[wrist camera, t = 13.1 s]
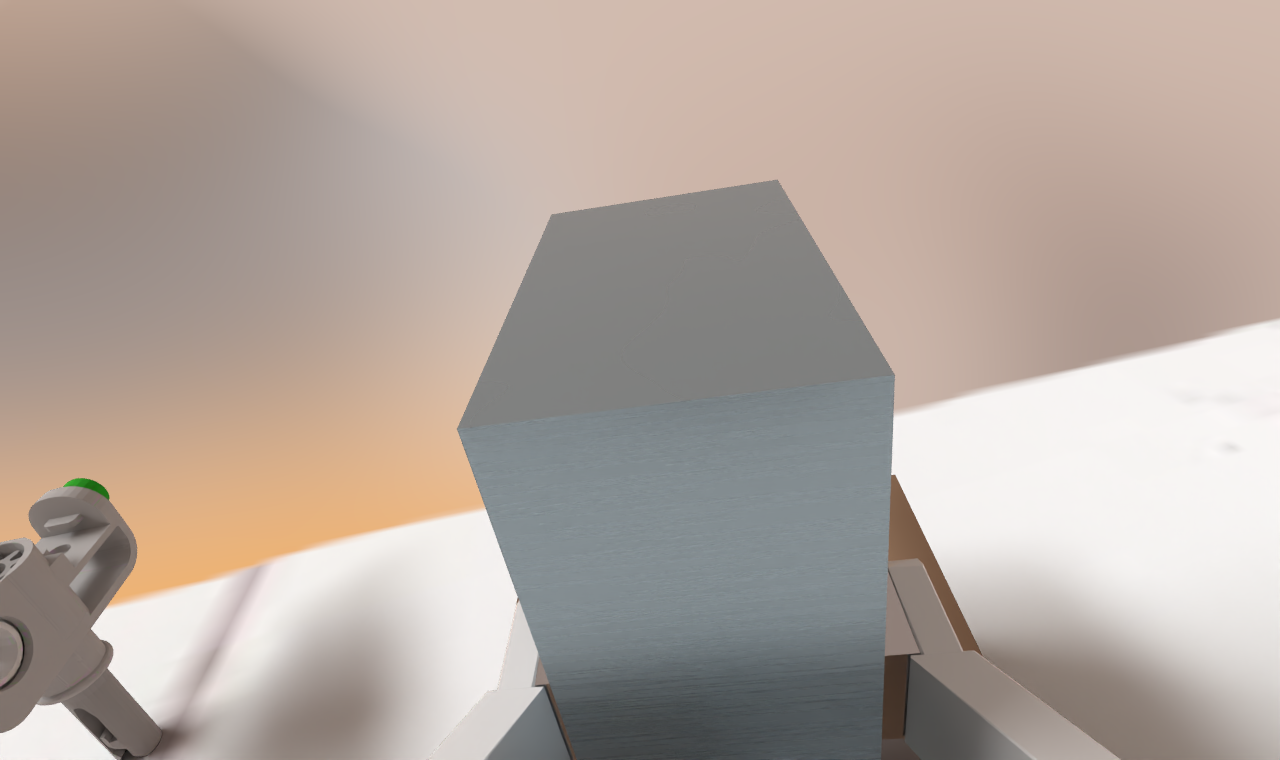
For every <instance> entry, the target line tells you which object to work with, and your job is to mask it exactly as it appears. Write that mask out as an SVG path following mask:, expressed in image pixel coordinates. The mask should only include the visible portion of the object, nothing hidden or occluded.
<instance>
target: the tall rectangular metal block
mask: <svg viewBox="0 0 1280 760" xmlns="http://www.w3.org/2000/svg"><path fill="white" fill-rule="evenodd" d="M894 381H895V375H894V373H893V371H892V370H891V368H890V366H889V364H888V363H887V361H886V360H885V358H884V356H883V355H882V353H881V351H880V350H879V348H878V346H877V345H876V343H875V341H874V340H873V338H872V336H871V335H870V333H869V331H868V330H867V328H866V326H865V325H864V323H863V321H862V320H861V318H860V316H859V315H858V313H857V311H856V310H855V308H854V306H853V305H852V303H851V301H850V300H849V298H848V296H847V295H846V293H845V291H844V290H843V288H842V286H841V285H840V283H839V281H838V280H837V278H836V276H835V275H834V273H833V271H832V270H831V268H830V266H829V265H828V263H827V261H826V260H825V258H824V256H823V255H822V253H821V252H820V250H819V248H818V247H817V245H816V243H815V241H814V240H813V238H812V236H811V235H810V233H809V231H808V230H807V228H806V226H805V225H804V223H803V221H802V220H801V218H800V216H799V215H798V213H797V211H796V210H795V208H794V206H793V205H792V203H791V201H790V200H789V198H788V196H787V195H786V193H785V191H784V190H783V188H782V186H781V185H780V183H779V181H778V180H773V181H767V182H761V183H753V184H747V185H740V186H734V187H727V188H721V189H714V190H708V191H701V192H695V193H688V194H682V195H676V196H670V197H663V198H656V199H650V200H643V201H637V202H630V203H624V204H617V205H611V206H605V207H598V208H591V209H585V210H579V211H572V212H565V213H559V214H552V215H551V217H550V220H549V222H548V224H547V226H546V229H545V231H544V233H543V235H542V238H541V240H540V242H539V245H538V247H537V249H536V251H535V254H534V256H533V258H532V260H531V263H530V265H529V267H528V269H527V272H526V274H525V276H524V278H523V281H522V283H521V285H520V288H519V290H518V293H517V295H516V297H515V299H514V301H513V303H512V306H511V308H510V310H509V312H508V315H507V317H506V319H505V322H504V324H503V326H502V328H501V331H500V333H499V335H498V337H497V340H496V342H495V344H494V347H493V349H492V351H491V353H490V356H489V358H488V360H487V363H486V365H485V367H484V369H483V372H482V374H481V376H480V378H479V381H478V383H477V385H476V387H475V390H474V392H473V394H472V396H471V399H470V401H469V403H468V406H467V408H466V410H465V412H464V415H463V417H462V419H461V421H460V424H459V426H458V428H457V430H458V433H459V436H460V438H461V441H462V444H463V447H464V449H465V452H466V455H467V458H468V460H469V463H470V466H471V468H472V471H473V474H474V477H475V480H476V483H477V485H478V488H479V491H480V493H481V496H482V499H483V502H484V505H485V507H486V510H487V513H488V516H489V518H490V521H491V524H492V527H493V530H494V532H495V535H496V538H497V541H498V543H499V546H500V549H501V552H502V554H503V557H504V560H505V563H506V565H507V568H508V571H509V574H510V576H511V579H512V582H513V585H514V587H515V590H516V593H517V596H518V599H519V601H520V604H521V607H522V610H523V612H524V615H525V618H526V621H527V623H528V626H529V629H530V632H531V634H532V637H533V640H534V643H535V645H536V648H537V651H538V654H539V656H540V659H541V662H542V665H543V668H544V670H545V673H546V676H547V679H548V681H549V684H550V687H551V690H552V692H553V695H554V698H555V701H556V703H557V706H558V709H559V712H560V714H561V717H562V720H563V723H564V725H565V728H566V731H567V734H568V737H569V739H570V742H571V745H572V748H573V750H574V753H575V756H576V759H577V760H881V744H882V716H883V688H884V660H885V632H886V605H887V577H888V549H889V521H890V493H891V465H892V437H893V409H894Z"/></svg>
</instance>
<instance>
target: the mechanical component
mask: <svg viewBox="0 0 1280 760" xmlns="http://www.w3.org/2000/svg"><path fill="white" fill-rule="evenodd" d="M29 521H30V523H31V525H32V527H33V528H34V529H35V531H36V532H37V533H38V534H39V536H40V537H41V539H40V541H39V542H38V543H37V544H36V545H34V543H33V542H32V541H31V540H29V539H27V538H19V539H14V540H9V541H4V542H0V733H3V732H6V731H9V730H11V729H13V728H14V727H16V726H18V725H19V724H20V723H21V722H22V721H23V720H24V719H25V718H26V717H27V716H28V715H29V714H30V712H31V711H32V709H33V708H34V707H35V705H36V704H38V705H52V704H56V703H60V702H61V703H62V704H63V705H64V706H65V707H66V708H67V709H68V710H69V711H70V712H71V713H72V714H73V715H74V716H75V717H76V718H77V719H78V720H79V721H80V722H81V723H82V724H83V725H84V726H85V727H86V728H87V729H88V731H89V732H90V733H91V734H92V735H93V736H94V737H95V738H96V739H97V740H98V741H99V742H100V743H101V744H102V745H103V746H104V747H105V748H106V749H107V750H108V751H109V752H110V753H111V754H112V755H113V756H114V757H115V758H116V759H117V760H121V758H122V756H123V754H124V752H125V751H126V749H127V750H128V751H129V752H130V753H131V754H132V755H133V756H147V755H148V754H149V753H151V752H152V751H153V750H154V748H155V747H156V746H157V745H158V743H159V741H160V739H161V736H162V732H161V729H160V728H159V727H158V726H157V725H156V723H155V722H154V721H153V720H152V719H151V718H150V717H149V715H148V714H147V713H146V712H145V711H144V710H143V709H142V708H141V706H140V705H139V704H138V703H137V702H136V701H135V700H134V698H133V697H132V696H131V695H130V694H129V693H128V692H127V691H126V689H125V688H124V687H123V686H122V685H121V684H120V683H119V681H118V680H117V679H116V678H115V677H114V676H113V675H112V673H111V672H110V671H109V670H108V669H107V667H108V666H109V664H110V662H111V660H112V657H113V648H112V646H111V644H110V643H108V642H107V641H103V640H100V639H99V638H98V637H97V636H96V634H95V633H94V632H93V631H92V630H91V627H92V626H93V624H94V623H95V622H96V620H97V619H98V618H99V616H100V615H101V613H102V612H103V611H104V609H105V608H106V606H107V605H108V604H109V602H110V601H111V599H112V598H113V597H114V595H115V594H116V592H117V591H118V590H119V588H120V587H121V585H122V584H123V583H124V581H125V580H126V579H127V577H128V576H129V574H130V573H131V571H132V570H133V568H134V565H135V562H136V558H137V545H136V540H135V537H134V535H133V533H132V531H131V529H130V528H129V527H128V525H127V524H126V523H125V521H124V520H123V519H122V517H121V516H120V514H119V513H118V512H117V510H116V509H115V508H114V506H113V505H112V504H111V503H110V501H109V494H108V492H107V490H106V489H105V488H104V487H103V486H102V485H101V484H99V483H97V482H95V481H93V480H90V479H85V478H80V479H79V478H78V479H73V480H71V481H69V482H67V483H66V484H65V485H64V486H63V487H62V488H57V489H53V490H50V491H48V492H46V493H45V494H44V495H43V496H42V497H41V498H40V499H39V500H38V501H37V502H36V503H35V504H34V505H33V506H32V507H31V509H30V511H29Z"/></svg>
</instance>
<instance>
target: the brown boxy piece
mask: <svg viewBox="0 0 1280 760" xmlns="http://www.w3.org/2000/svg"><path fill="white" fill-rule="evenodd" d="M916 558H917V559H919V560H920V561H921V562H922V563H923V565H924V567H925V569H926V571H927V574H928V576H929V578H930V580H931V582H932V584H933V587H934V589H935V591H936V593H937V595H938V597H939V599H940V602H941V604H942V606H943V608H944V610H945V612H946V615H947V617H948V619H949V621H950V623H951V625H952V628H953V630H954V632H955V634H956V636H957V638H958V641H959V643H960V645H961V647H962V649H963V651H976V652H977V653H978V654H980V655H981V656H982V654H981V652H980V650H979V648H978V646H977V643H976V641H975V639H974V637H973V635H972V633H971V631H970V629H969V627H968V625H967V623H966V621H965V619H964V617H963V614H962V612H961V610H960V608H959V606H958V604H957V602H956V600H955V598H954V596H953V594H952V592H951V590H950V588H949V585H948V583H947V581H946V579H945V577H944V575H943V573H942V571H941V569H940V567H939V565H938V563H937V561H936V559H935V557H934V554H933V552H932V550H931V548H930V546H929V544H928V542H927V540H926V538H925V536H924V534H923V532H922V530H921V528H920V525H919V523H918V521H917V519H916V517H915V515H914V513H913V511H912V509H911V507H910V505H909V503H908V501H907V499H906V496H905V494H904V492H903V490H902V488H901V486H900V484H899V482H898V480H897V478H896V476H895V475H891V493H890V521H889V549H888V561H896V560H906V559H916ZM518 601H519V599H517V603H518ZM516 605H517V604H516ZM982 657H983V656H982ZM881 760H921V759H920V758H919V757H918V756H917V754H916V753H915V752H914V751H913V750H912V749H911V748H910V747H909V746H908V745H907V744H906V743H905V738H904V739H882V744H881Z"/></svg>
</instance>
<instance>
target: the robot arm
mask: <svg viewBox="0 0 1280 760" xmlns="http://www.w3.org/2000/svg"><path fill="white" fill-rule="evenodd" d="M904 738H905V743H906V744H907V745H908V746H909V747H910V748H911V749H912V750H913V751H914V752H915V753H916V754H917V756H918V757H919V758H920V759H921V760H1121V759H1120V758H1118V757H1117V756H1115V755H1114V754H1113V753H1111V752H1110V751H1109V750H1107V749H1106V748H1105V747H1103V746H1102V745H1101V744H1099V743H1098V742H1097V741H1095V740H1094V739H1093V738H1091V737H1090V736H1089V735H1087V734H1086V733H1085V732H1083V731H1082V730H1081V729H1079V728H1078V727H1077V726H1075V725H1074V724H1072V723H1071V722H1070V721H1068V720H1067V719H1066V718H1064V717H1063V716H1062V715H1060V714H1059V713H1058V712H1056V711H1055V710H1054V709H1052V708H1051V707H1050V706H1048V705H1047V704H1046V703H1044V702H1043V701H1042V700H1040V699H1039V698H1038V697H1036V696H1035V695H1033V694H1032V693H1031V692H1029V691H1028V690H1027V689H1025V688H1024V687H1023V686H1021V685H1020V684H1019V683H1017V682H1016V681H1015V680H1013V679H1012V678H1011V677H1009V676H1008V675H1007V674H1005V673H1004V672H1003V671H1001V670H1000V669H999V668H997V667H996V666H995V665H993V664H992V663H990V662H989V661H988V660H986V659H985V658H984V657H982V656H981V655H980V654H978V653H977V652H976V651H963V649H962V647H961V645H960V643H959V641H958V638H957V636H956V634H955V632H954V630H953V628H952V625H951V623H950V621H949V619H948V617H947V615H946V612H945V610H944V608H943V606H942V604H941V602H940V599H939V597H938V595H937V593H936V591H935V589H934V587H933V584H932V582H931V580H930V578H929V576H928V574H927V571H926V569H925V567H924V565H923V563H922V562H921V561H920V560H919V559H917V558H916V559H906V560H896V561H888V577H887V605H886V632H885V660H884V688H883V716H882V739H904ZM427 760H577V759H576V756H575V753H574V750H573V748H572V745H571V742H570V739H569V737H568V734H567V731H566V728H565V725H564V723H563V720H562V717H561V714H560V712H559V709H558V706H557V703H556V701H555V698H554V695H553V692H552V690H551V687H550V684H549V681H548V679H547V676H546V673H545V670H544V668H543V665H542V662H541V659H540V656H539V654H538V651H537V648H536V645H535V643H534V640H533V637H532V634H531V632H530V629H529V626H528V623H527V621H526V618H525V615H524V612H523V610H522V607H521V604H520V601H518V603H517V605H516V608H515V613H514V617H513V621H512V626H511V630H510V635H509V639H508V644H507V648H506V653H505V657H504V661H503V666H502V670H501V675H500V679H499V684H498V688H497V690H493V691H487V692H486V693H485V695H484V696H483V697H482V698H481V699H480V700H479V701H478V703H477V704H476V705H475V706H474V707H473V708H472V709H471V710H470V712H469V713H468V714H467V715H466V716H465V717H464V718H463V719H462V721H461V722H460V723H459V724H458V725H457V726H456V727H455V729H454V730H453V731H452V732H451V733H450V734H449V735H448V736H447V738H446V739H445V740H444V741H443V742H442V743H441V744H440V746H439V747H438V748H437V749H436V750H435V751H434V752H433V753H432V755H431V756H430V757H429V758H428V759H427Z"/></svg>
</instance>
